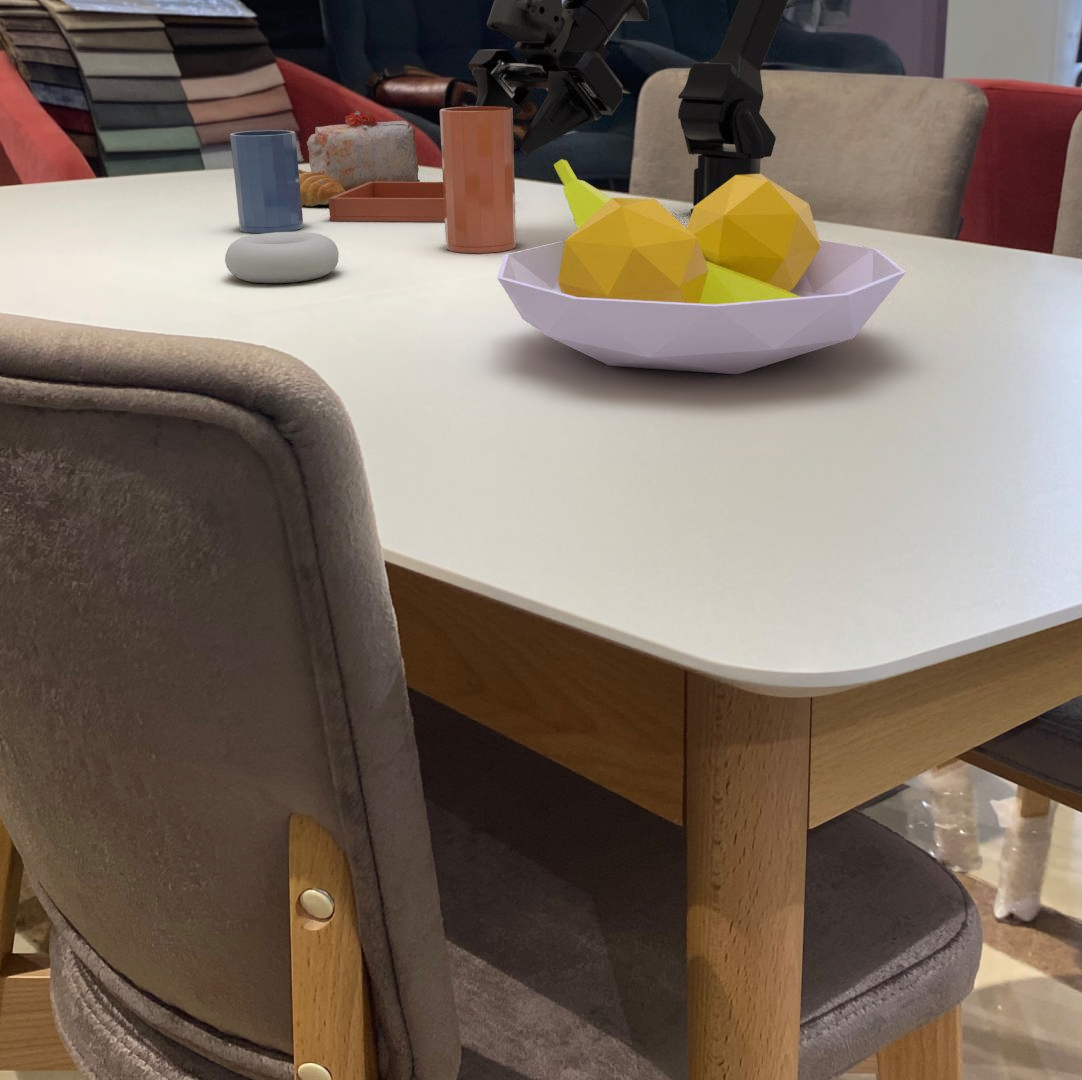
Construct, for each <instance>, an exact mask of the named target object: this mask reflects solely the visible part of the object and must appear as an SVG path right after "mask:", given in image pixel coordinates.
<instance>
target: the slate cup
mask: <svg viewBox="0 0 1082 1080" xmlns="http://www.w3.org/2000/svg"><path fill="white" fill-rule="evenodd" d="M229 139H230V149H231V158H232V167H233V169H232V170H233V178H234V188H235V196H236V205H237V206H236V207H237V216H238V224H239V231H241V232H242V233H248V234H264V233H275V232H295V231H299V230H301V229H302V228H304V216H303V206H302V204H301V192H300V181H299V170H300V169H299V159H298V147H297V135H296V132H295V131H294V130H283V129H281V130H279V129H275V130H272V129H271V130H270V129H267V130H250V131H249V130H248V131H239V132H231V133H230V134H229Z"/></svg>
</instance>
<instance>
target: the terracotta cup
mask: <svg viewBox="0 0 1082 1080" xmlns="http://www.w3.org/2000/svg"><path fill="white" fill-rule="evenodd" d="M439 124H440V125H439V127H440V128H439V129H440V145H441V146H440V147H441V148H440V149H441V163H442V164H441V168H442V169H441V170H442V182H443V192H444V214H445V222H444V232H445V235H444V236H445V243H446V249H447V250H448V251H449V252H455V253H462V254H491V253H500V252H507V251H510V250H513V249H515V248H516V244H517V243H516V241H517V227H516V226H517V225H516V223H517V221H516V220H517V219H516V186H515V184H516V183H515V181H516V180H515V151H514V150H515V149H514V118H513V108H510V107H498V106H476V105H475V106H456V107H447V108H441V109H440V110H439Z"/></svg>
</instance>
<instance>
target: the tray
mask: <svg viewBox="0 0 1082 1080" xmlns="http://www.w3.org/2000/svg"><path fill="white" fill-rule="evenodd" d="M328 200H329V203H328V211H329V221H330V222H405V223H407V222H409V223H410V222H411V223H416V222H418V223H419V222H421V223H423V222H424V223H426V222H427V223H445V214H444V192H443V181H420V182H368V183H365V184H363V185H360V186H358V187H355V188H353V189H350V190H348V191H345V192H343V193H341V194H338V195H336V196H333V197H331V198H329V199H328Z"/></svg>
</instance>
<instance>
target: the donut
mask: <svg viewBox="0 0 1082 1080" xmlns="http://www.w3.org/2000/svg"><path fill="white" fill-rule="evenodd" d="M339 254H340V253H339V249H338V246H337V245H336V243H335V241H334V240H332V239H331V238H330V237H328V236H326V235H325V234H324V235H323V234H322V233H317V232H308V231H307V232H306V231H288V232H275V233H256V234H251V235H246V236H242V237H240V238H238V239H236V240H234V241H232V242H231V243H230V245H229V246H228V247H227V250H226V252H225V255H224V262H225V266H226V268H227V270H228V271H229V272H230V273H231V275H233V276H234V277H236V278H237V279H239V280H242V281H244V282H249V283H256V284H290V283H298V282H306V281H313V280H316V279H319V278H323V277H325V276H326V275H328V274H330V273H332V272H333V271H334V270H335V269H336V268H337V265H338V263H339V256H340V255H339Z"/></svg>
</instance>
